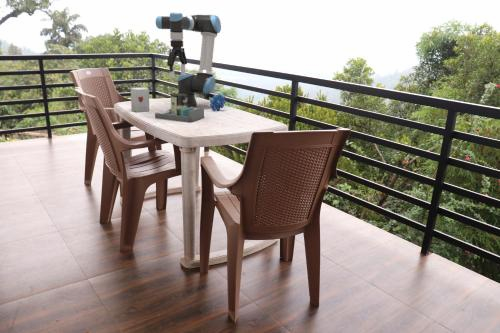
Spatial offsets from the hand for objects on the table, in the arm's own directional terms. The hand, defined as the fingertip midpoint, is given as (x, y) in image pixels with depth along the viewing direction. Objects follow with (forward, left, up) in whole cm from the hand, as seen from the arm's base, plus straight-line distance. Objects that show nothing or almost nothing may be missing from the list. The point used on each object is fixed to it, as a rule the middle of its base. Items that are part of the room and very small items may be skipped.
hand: (177, 76), depth 253 cm
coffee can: (+4, +3, -25) cm, 25 cm away
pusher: (+4, +9, -24) cm, 26 cm away
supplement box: (-4, -32, -25) cm, 41 cm away
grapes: (-33, +11, -25) cm, 43 cm away
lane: (+4, +4, -25) cm, 26 cm away
